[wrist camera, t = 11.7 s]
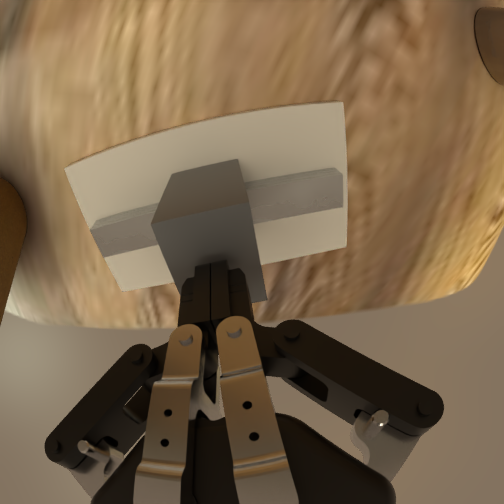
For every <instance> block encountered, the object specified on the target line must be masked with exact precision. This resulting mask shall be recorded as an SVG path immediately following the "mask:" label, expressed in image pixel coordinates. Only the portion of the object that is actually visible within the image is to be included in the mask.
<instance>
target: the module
mask: <svg viewBox="0 0 504 504" xmlns="http://www.w3.org/2000/svg"><path fill="white" fill-rule="evenodd" d="M151 227H152V229H153V232H154V234H155V237H156V240H157V242H158V244H159V247H160V249H161V252H162V254H163V257H164V259H165V261H166V264H167V266H168V269H169V271H170V273H171V276H172V278H173V280H174V282H175V285H176V287H177V289H178V291H179V294H180V296H181V289H182V285H183V284H184V282H185V281H186V279H187V278H191V277H194V273H195V266H197V265H202V264H207V263H211V262H216V261H221V260H226V259H227V261H228V265H229V268H230V270H231V269H236V268H240V269H241V270H242V271H243V272H244V274H245V276H246V280H247V284H248V288H249V293H250V297H251V303H255V302H260V301H265V300H267V296H266V290H265V284H264V279H263V273H262V268H261V263H260V257H259V252H258V246H257V241H256V235H255V230H254V225H253V219H252V214H251V208H250V203H249V199H248V195H247V192H246V188H245V184H244V180H243V177H242V173H241V169H240V165H239V162H238V159H234V160H229V161H224V162H219V163H215V164H210V165H206V166H201V167H197V168H193V169H189V170H185V171H181V172H177V173H173V174H171V177H170V179H169V181H168V183H167V186H166V188H165V190H164V193H163V195H162V197H161V200H160V202H159V204H158V207H157V209H156V212H155V214H154V217H153V219H152V222H151Z"/></svg>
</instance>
